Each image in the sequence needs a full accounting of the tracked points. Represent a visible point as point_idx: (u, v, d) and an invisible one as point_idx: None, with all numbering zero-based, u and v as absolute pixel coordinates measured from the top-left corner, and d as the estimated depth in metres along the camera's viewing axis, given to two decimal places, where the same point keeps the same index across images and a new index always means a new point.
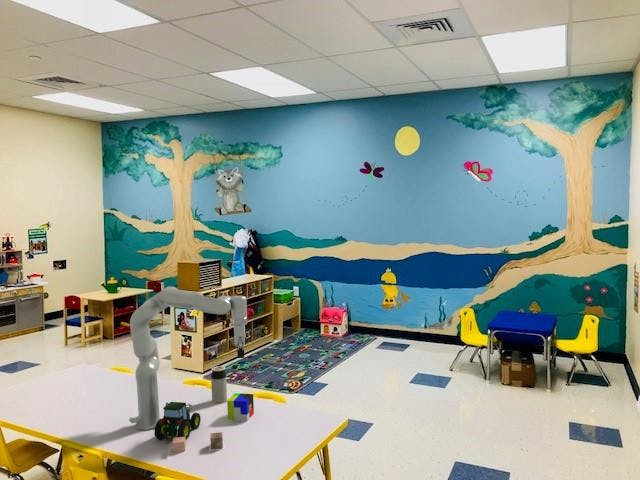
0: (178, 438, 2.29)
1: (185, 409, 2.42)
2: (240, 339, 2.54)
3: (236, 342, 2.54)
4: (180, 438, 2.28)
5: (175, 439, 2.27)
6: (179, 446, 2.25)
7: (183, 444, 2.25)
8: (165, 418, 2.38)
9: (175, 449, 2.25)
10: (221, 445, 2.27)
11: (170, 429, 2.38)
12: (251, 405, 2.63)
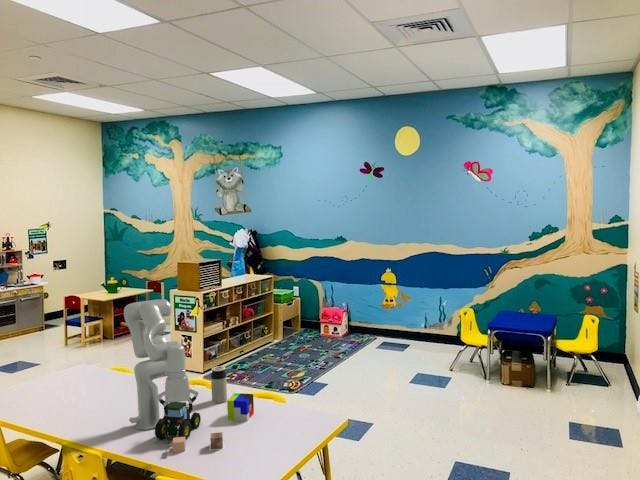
0: (178, 438, 2.29)
1: (185, 409, 2.43)
2: None
3: (189, 395, 2.25)
4: (180, 438, 2.28)
5: (175, 439, 2.27)
6: (179, 446, 2.25)
7: (183, 444, 2.25)
8: (165, 418, 2.38)
9: (175, 449, 2.25)
10: (221, 445, 2.27)
11: (170, 429, 2.38)
12: (251, 405, 2.63)
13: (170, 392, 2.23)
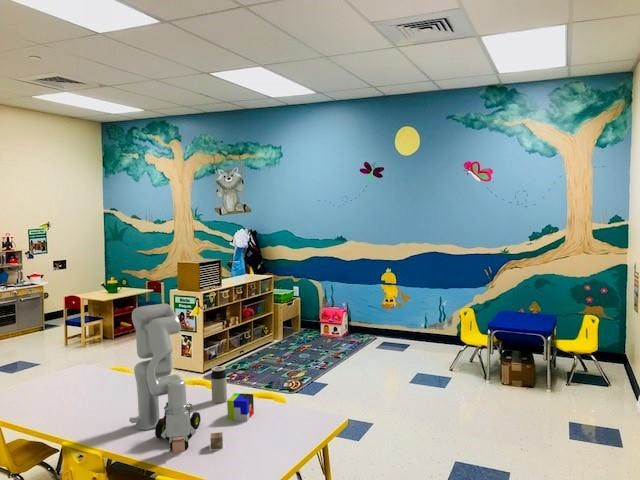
0: (178, 437, 2.29)
1: None
2: (191, 426, 2.28)
3: None
4: (180, 438, 2.28)
5: (175, 439, 2.27)
6: (179, 446, 2.25)
7: (183, 444, 2.25)
8: None
9: (175, 449, 2.25)
10: (221, 445, 2.27)
11: None
12: (251, 405, 2.63)
13: (171, 427, 2.23)
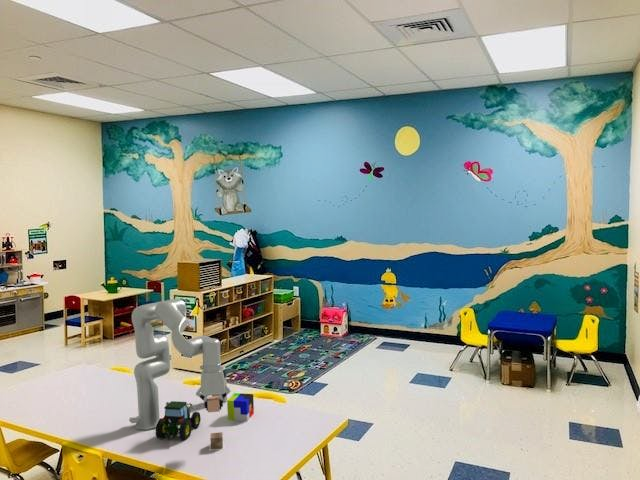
0: (213, 397, 2.29)
1: (186, 408, 2.43)
2: None
3: (224, 389, 2.26)
4: (214, 397, 2.28)
5: (209, 398, 2.28)
6: (214, 404, 2.25)
7: (218, 402, 2.25)
8: (166, 417, 2.39)
9: (210, 407, 2.25)
10: (221, 445, 2.27)
11: (171, 428, 2.38)
12: (251, 405, 2.63)
13: (206, 385, 2.24)
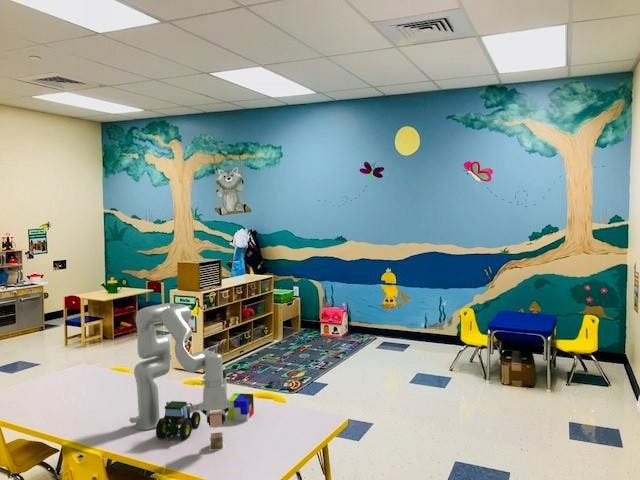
0: (215, 411, 2.29)
1: (186, 408, 2.44)
2: (228, 400, 2.28)
3: None
4: (216, 412, 2.29)
5: (212, 412, 2.28)
6: (216, 419, 2.25)
7: (220, 417, 2.26)
8: (166, 417, 2.39)
9: (212, 422, 2.25)
10: (221, 445, 2.27)
11: (171, 428, 2.38)
12: (251, 405, 2.63)
13: (208, 400, 2.24)
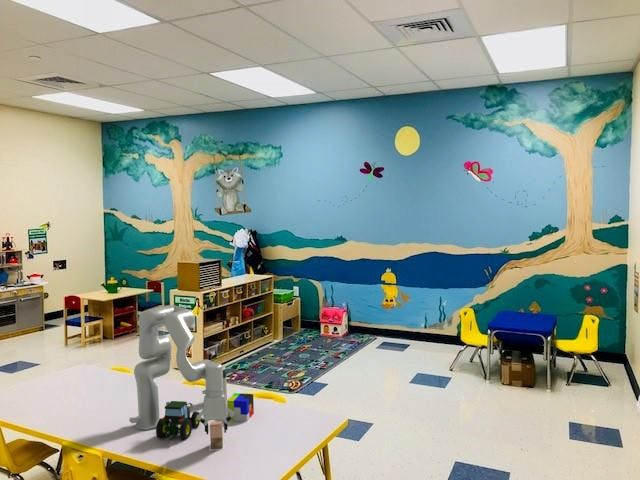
0: (215, 422, 2.30)
1: (186, 408, 2.44)
2: (229, 409, 2.29)
3: None
4: (216, 423, 2.29)
5: (212, 423, 2.29)
6: (216, 430, 2.26)
7: (221, 428, 2.26)
8: (166, 417, 2.39)
9: (212, 433, 2.26)
10: (221, 445, 2.27)
11: (171, 428, 2.39)
12: (251, 405, 2.63)
13: (208, 410, 2.25)
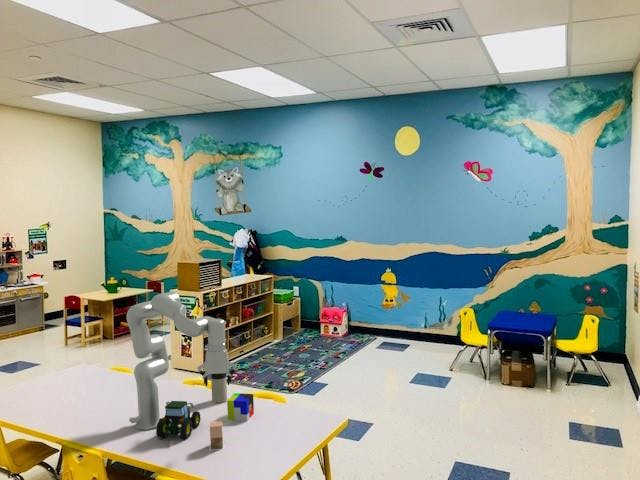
0: (215, 422, 2.30)
1: (186, 408, 2.44)
2: None
3: (228, 368, 2.32)
4: (216, 423, 2.29)
5: (212, 423, 2.29)
6: (216, 430, 2.26)
7: (221, 428, 2.26)
8: (167, 417, 2.39)
9: (212, 433, 2.26)
10: (221, 445, 2.27)
11: (172, 428, 2.39)
12: (251, 405, 2.63)
13: (210, 364, 2.30)
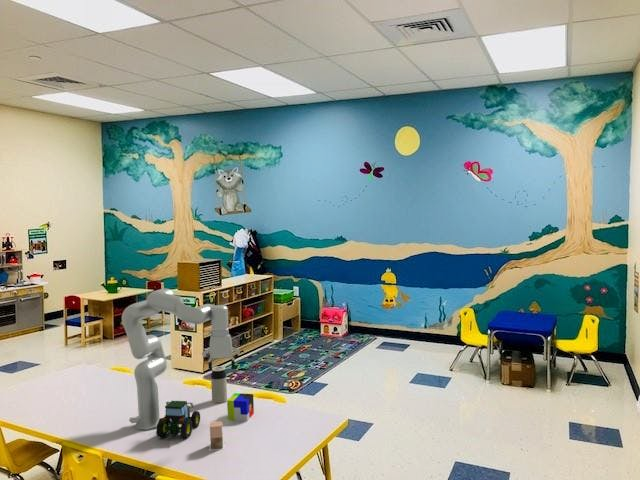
0: (215, 422, 2.30)
1: (186, 407, 2.44)
2: None
3: None
4: (216, 423, 2.29)
5: (212, 423, 2.29)
6: (216, 430, 2.26)
7: (221, 428, 2.26)
8: (167, 417, 2.40)
9: (212, 433, 2.26)
10: (221, 445, 2.27)
11: (172, 428, 2.39)
12: (251, 405, 2.63)
13: (214, 349, 2.37)
